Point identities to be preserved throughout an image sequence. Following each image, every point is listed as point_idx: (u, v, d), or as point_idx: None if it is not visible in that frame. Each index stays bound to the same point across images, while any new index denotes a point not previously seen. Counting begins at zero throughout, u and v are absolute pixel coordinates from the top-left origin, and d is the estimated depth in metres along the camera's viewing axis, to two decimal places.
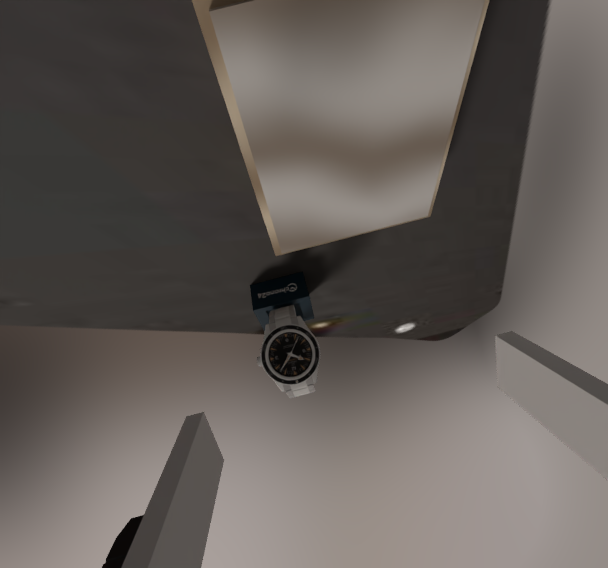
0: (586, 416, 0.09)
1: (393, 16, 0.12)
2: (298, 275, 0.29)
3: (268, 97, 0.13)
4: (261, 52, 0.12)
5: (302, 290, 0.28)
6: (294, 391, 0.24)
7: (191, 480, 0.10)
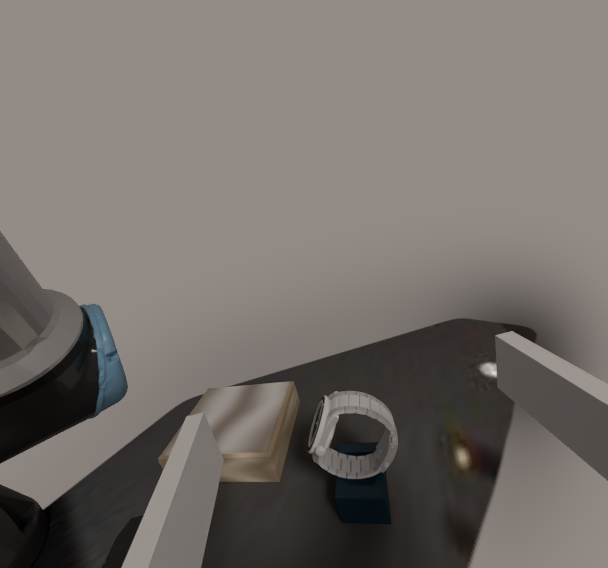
0: (586, 416, 0.09)
1: (203, 407, 0.39)
2: None
3: None
4: None
5: None
6: (338, 405, 0.24)
7: (191, 480, 0.10)
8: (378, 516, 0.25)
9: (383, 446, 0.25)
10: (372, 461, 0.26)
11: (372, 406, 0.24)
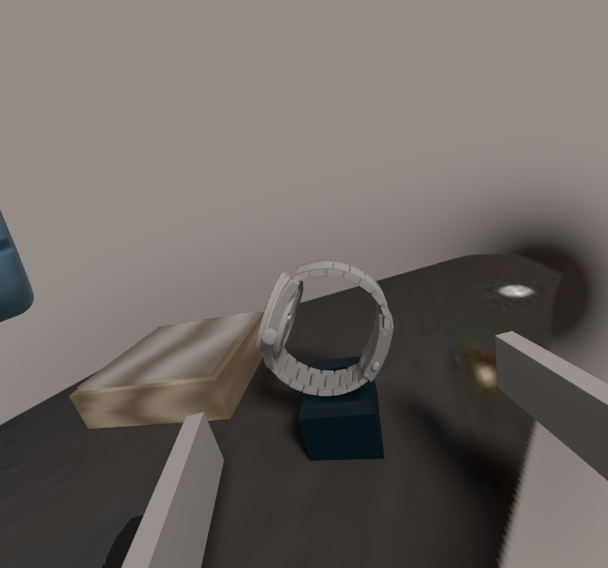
0: (586, 416, 0.09)
1: (146, 342, 0.31)
2: None
3: (119, 373, 0.25)
4: (105, 374, 0.25)
5: None
6: (300, 271, 0.15)
7: (191, 480, 0.10)
8: (364, 446, 0.16)
9: (372, 344, 0.17)
10: (356, 371, 0.18)
11: (353, 271, 0.15)
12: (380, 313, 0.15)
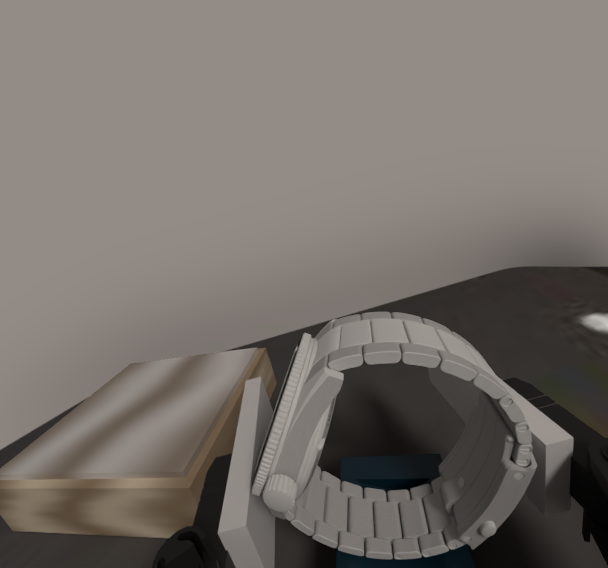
0: None
1: (109, 390, 0.23)
2: None
3: (56, 451, 0.17)
4: (38, 451, 0.18)
5: None
6: (342, 345, 0.08)
7: (262, 428, 0.11)
8: None
9: (469, 471, 0.09)
10: (434, 509, 0.10)
11: (450, 345, 0.07)
12: (508, 433, 0.07)
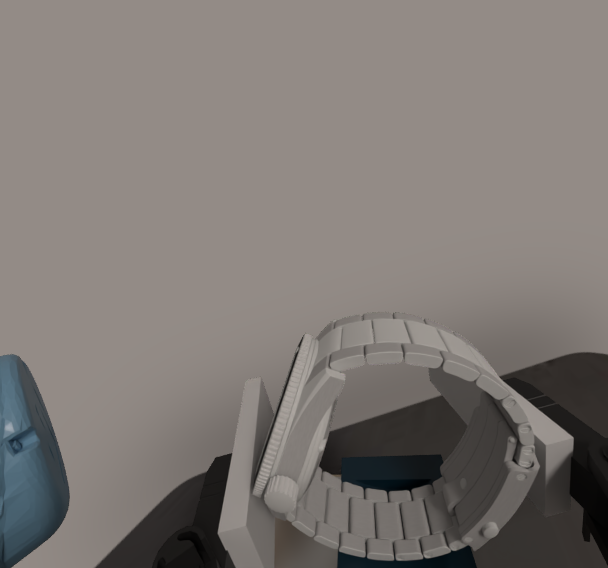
0: (478, 403, 0.10)
1: None
2: None
3: None
4: None
5: None
6: (343, 345, 0.08)
7: (262, 428, 0.11)
8: None
9: (471, 471, 0.09)
10: (436, 510, 0.10)
11: (452, 346, 0.07)
12: (510, 434, 0.07)
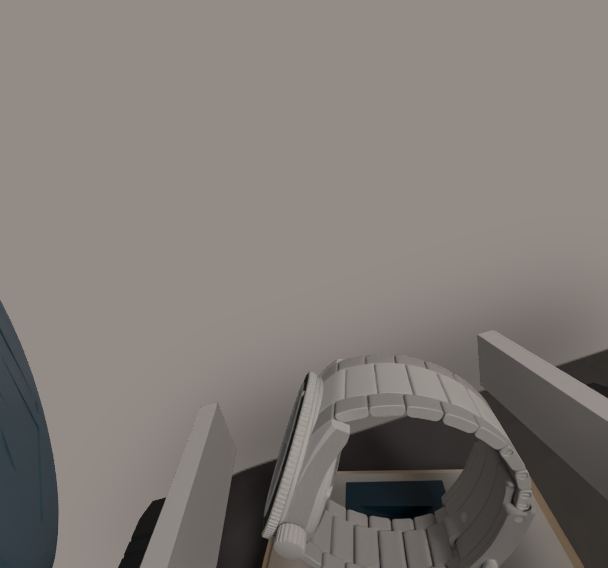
0: (557, 411, 0.09)
1: None
2: None
3: None
4: None
5: None
6: (347, 393, 0.08)
7: (208, 465, 0.10)
8: None
9: (472, 507, 0.09)
10: (437, 541, 0.10)
11: (452, 394, 0.08)
12: (509, 479, 0.08)
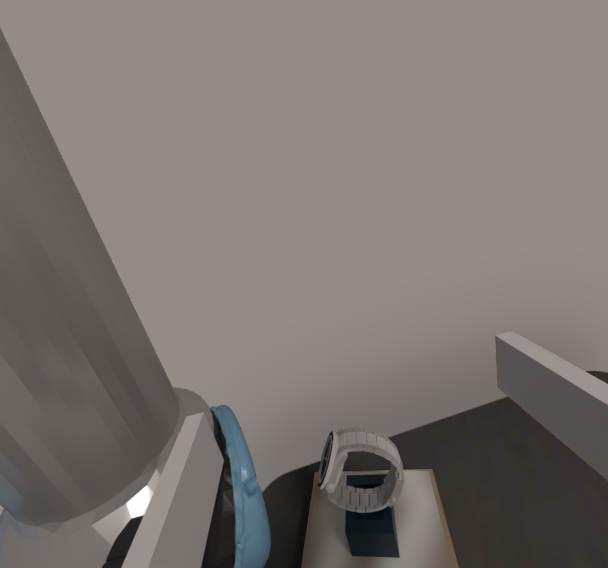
0: (586, 416, 0.09)
1: (325, 506, 0.31)
2: None
3: None
4: None
5: None
6: (346, 443, 0.25)
7: (191, 480, 0.10)
8: (387, 550, 0.25)
9: (390, 481, 0.27)
10: (380, 495, 0.27)
11: (379, 443, 0.25)
12: (396, 470, 0.25)
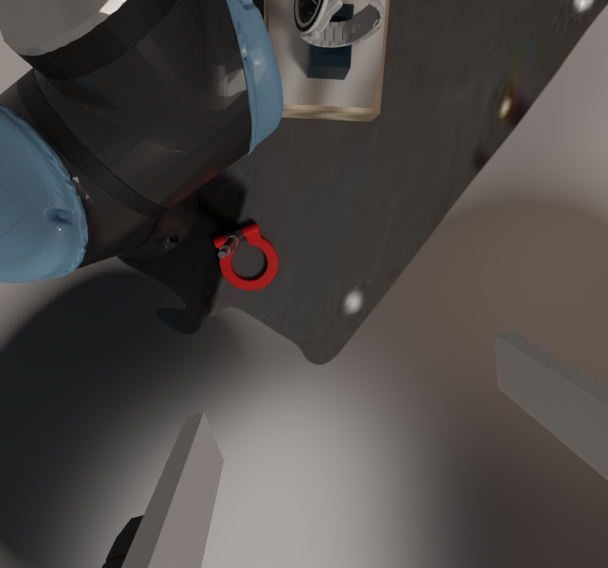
0: (586, 416, 0.09)
1: (281, 29, 0.31)
2: None
3: (295, 89, 0.33)
4: (282, 87, 0.33)
5: None
6: None
7: (191, 480, 0.10)
8: (337, 76, 0.32)
9: (362, 22, 0.27)
10: (346, 32, 0.29)
11: None
12: (378, 18, 0.25)
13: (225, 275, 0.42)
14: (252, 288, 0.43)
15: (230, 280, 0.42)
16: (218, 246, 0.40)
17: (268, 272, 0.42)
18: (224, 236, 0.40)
